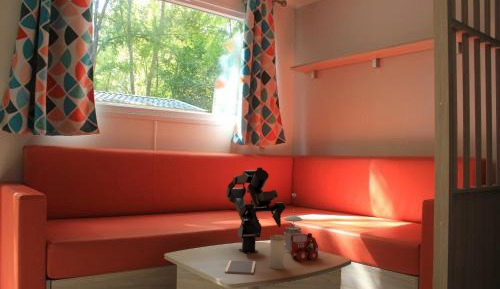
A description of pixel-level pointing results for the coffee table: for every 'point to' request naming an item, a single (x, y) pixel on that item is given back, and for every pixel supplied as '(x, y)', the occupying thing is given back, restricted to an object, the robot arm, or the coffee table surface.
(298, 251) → the toy fire truck
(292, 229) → the french press
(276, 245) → the canister
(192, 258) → the coffee table surface
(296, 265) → the coffee table surface
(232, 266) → the mat
